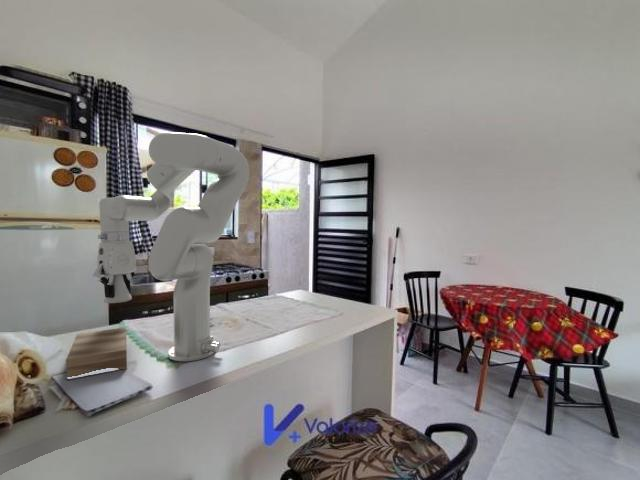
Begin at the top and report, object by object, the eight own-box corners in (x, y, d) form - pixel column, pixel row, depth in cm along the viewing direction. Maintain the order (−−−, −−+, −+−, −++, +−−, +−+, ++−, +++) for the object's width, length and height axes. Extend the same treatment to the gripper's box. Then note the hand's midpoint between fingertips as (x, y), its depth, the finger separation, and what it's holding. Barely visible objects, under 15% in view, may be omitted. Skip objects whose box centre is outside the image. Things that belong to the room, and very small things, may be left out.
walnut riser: (77, 351, 92) (77, 333, 92) (126, 343, 98) (126, 327, 98) (66, 380, 75) (66, 359, 75) (126, 368, 81) (126, 349, 81)
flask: (118, 304, 97) (117, 271, 96) (98, 303, 98) (97, 271, 98) (137, 299, 104) (135, 268, 104) (118, 298, 105) (116, 268, 105)
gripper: (97, 238, 91) (100, 302, 92) (147, 236, 107) (149, 290, 108) (78, 239, 93) (82, 301, 94) (130, 237, 110) (132, 290, 110)
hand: (118, 294), depth 101 cm, fingers closed on flask, 4 cm apart
